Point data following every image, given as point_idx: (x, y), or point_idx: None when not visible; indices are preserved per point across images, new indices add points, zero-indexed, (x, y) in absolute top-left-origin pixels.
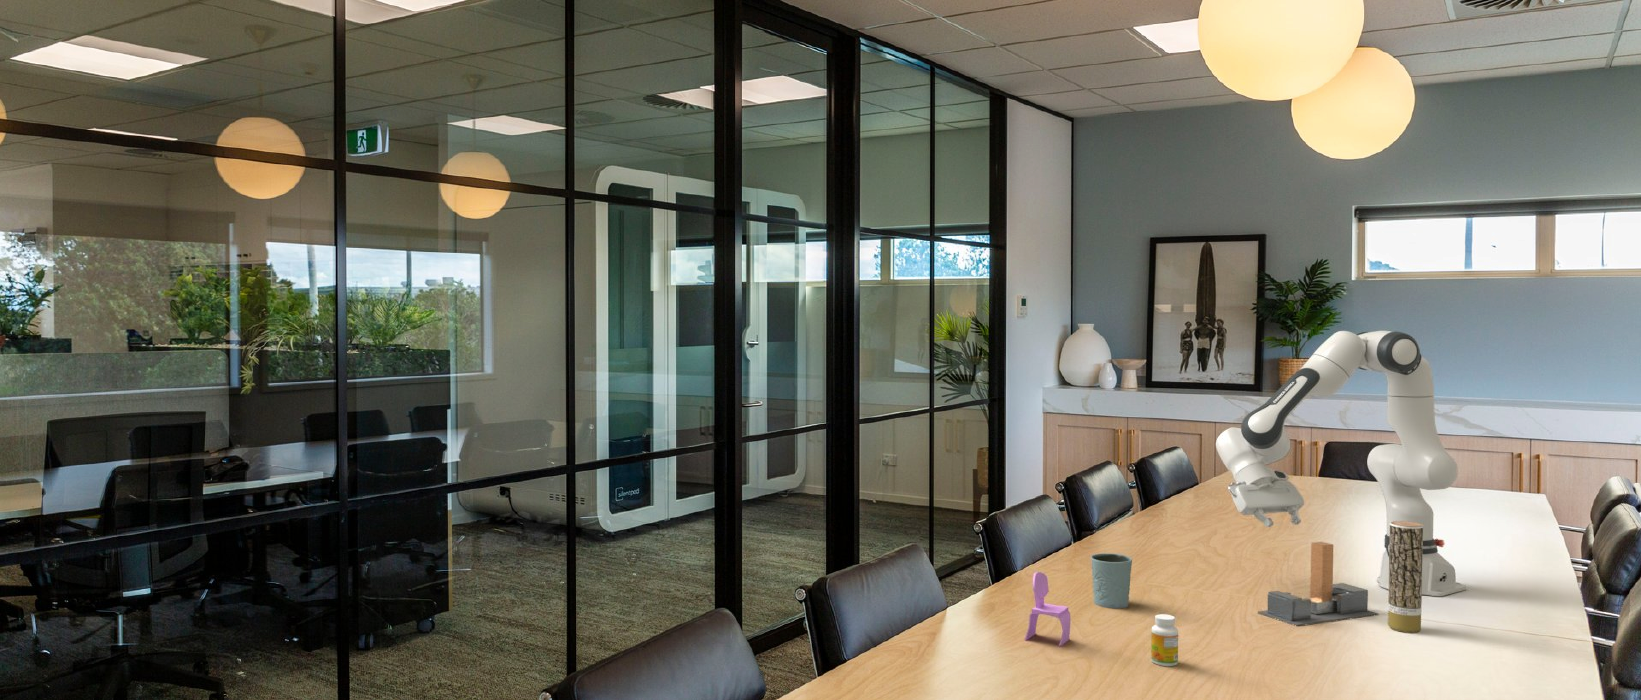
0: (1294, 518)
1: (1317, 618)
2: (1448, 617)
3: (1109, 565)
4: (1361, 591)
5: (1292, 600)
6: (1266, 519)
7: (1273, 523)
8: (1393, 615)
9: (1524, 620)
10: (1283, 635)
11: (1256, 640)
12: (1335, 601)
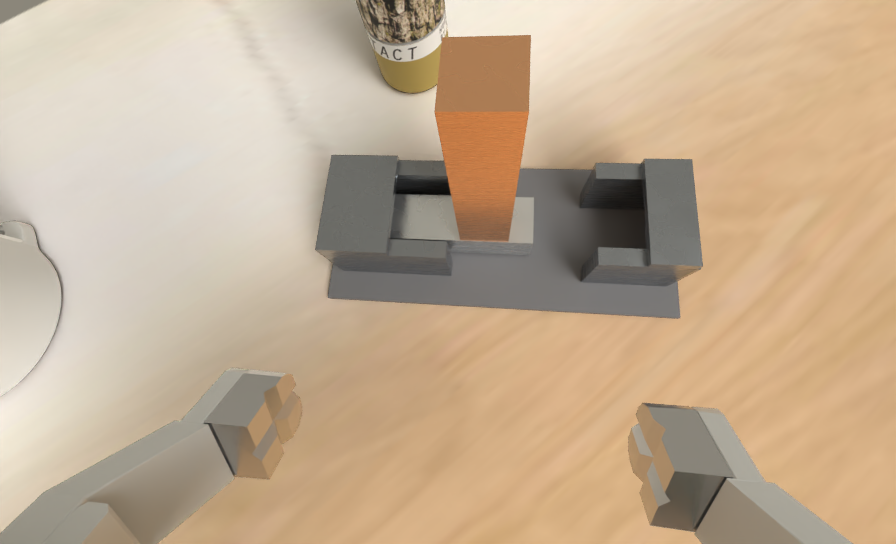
0: (268, 411)
1: (555, 191)
2: (221, 98)
3: None
4: (361, 156)
5: (689, 161)
6: (753, 471)
7: (644, 404)
8: (447, 36)
9: (112, 34)
10: (774, 127)
11: (893, 120)
12: (449, 197)
